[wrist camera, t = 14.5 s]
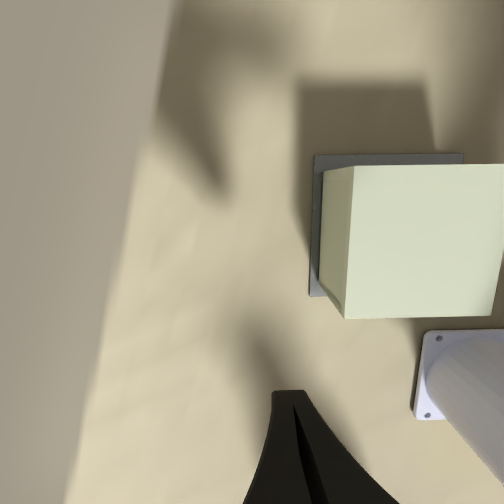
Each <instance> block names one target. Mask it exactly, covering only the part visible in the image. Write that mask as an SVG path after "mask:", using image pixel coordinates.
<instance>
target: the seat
mask: <svg viewBox="0 0 504 504" xmlns="http://www.w3.org/2000/svg"><path fill="white" fill-rule="evenodd" d="M463 157H464V153H449V154H371V155H314V174H313V202H312V230H311V259H310V287H309V296H310V297H313V296H327V295H326V293H325V292H324V291H323V289H322V288H321V287H320V285H319V264H320V241H321V218H322V194H323V171H329V170H334V169H340V168H345V167H351V166H380V165H455V164H462V163H463Z"/></svg>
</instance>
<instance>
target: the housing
mask: <svg viewBox="0 0 504 504" xmlns="http://www.w3.org/2000/svg"><path fill="white" fill-rule="evenodd" d="M503 251H504V164H455V165H380V166H351V167H345V168H340V169H334V170H329V171H323V194H322V218H321V241H320V264H319V285H320V287H321V288H322V289H323V291H324V292H325V293H326V295H327V296H328V297H329V299H330V300H331V302H332V303H333V304H334V306H335V307H336V308H337V310H338V311H339V312H340V314H341V315H342V317H343V318H344V319H362V318H407V317H453V316H491V311H492V306H493V301H494V296H495V291H496V286H497V281H498V276H499V271H500V266H501V261H502V256H503Z"/></svg>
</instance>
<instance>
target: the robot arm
mask: <svg viewBox="0 0 504 504" xmlns="http://www.w3.org/2000/svg"><path fill="white" fill-rule="evenodd" d="M438 336H439V338H438V339H436V338H437V337H438ZM413 414H414V416H415V417H416V419H418V420H441V419H447V420H448V422H449V423H450V424H451V425H452V426H453V427H454V429H455V430H456V431H457V432H458V433H459V434H460V436H461V437H462V438H463V439H464V440H465V441H466V443H467V444H468V445H469V446H470V447H471V448H472V450H473V451H474V452H475V453H476V454H477V455H478V457H479V458H480V459H481V460H482V461H483V462H484V464H485V465H486V466H487V467H488V468H489V470H490V471H491V472H492V473H493V474H494V475H495V477H496V478H497V479H498V480H499V481H500V482H501V484H502V485H503V486H504V329H479V330H435V331H428V332H426V333H425V335H424V339H423V346H422V353H421V360H420V367H419V374H418V381H417V389H416V396H415V403H414V410H413ZM243 504H399V503H398V502H397V501H396V500H395V499H394V498H393V497H392V496H391V495H390V494H388V493H387V492H386V491H385V490H384V489H383V488H382V487H381V486H380V485H379V484H378V483H377V482H376V481H375V480H374V479H373V478H372V477H371V476H370V475H369V474H368V473H367V472H366V471H365V470H364V469H363V468H362V467H361V466H360V464H359V463H358V462H357V461H356V460H355V459H354V458H353V457H352V455H351V454H350V453H349V452H348V451H347V450H346V448H345V447H344V446H343V445H342V443H341V442H340V441H339V440H338V438H337V437H336V436H335V435H334V433H333V432H332V431H331V429H330V428H329V427H328V425H327V424H326V423H325V421H324V420H323V418H322V417H321V415H320V414H319V413H318V411H317V410H316V408H315V406H314V405H313V403H312V402H311V400H310V399H309V397H308V395H307V393H306V392H305V391H304V390H279V391H273V392H272V410H271V418H270V423H269V428H268V433H267V437H266V440H265V444H264V447H263V451H262V454H261V458H260V461H259V464H258V467H257V469H256V472H255V475H254V478H253V480H252V483H251V485H250V488H249V490H248V492H247V495H246V497H245V499H244V502H243Z"/></svg>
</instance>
